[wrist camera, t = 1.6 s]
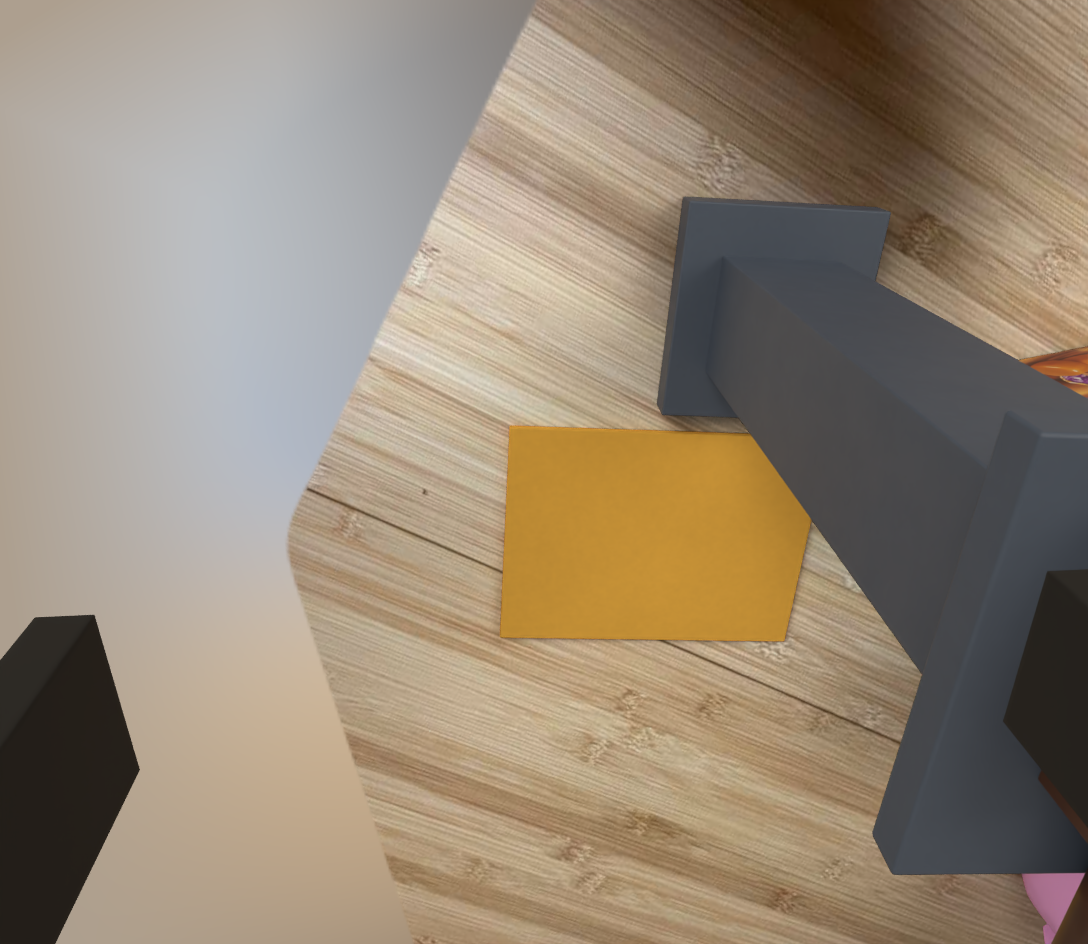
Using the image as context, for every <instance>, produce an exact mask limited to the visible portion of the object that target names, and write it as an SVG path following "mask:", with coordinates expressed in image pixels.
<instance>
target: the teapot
mask: <svg viewBox="0 0 1088 944" xmlns="http://www.w3.org/2000/svg"><path fill="white" fill-rule="evenodd" d="M1084 874H1085V873H1050V874H1022V878H1023V882H1024V886H1025V889H1026V892H1027V894H1028V896H1029V899H1030V900H1031V902H1032V903H1033V905H1034V906H1035V908H1036V909H1037V911H1038V912H1039V913H1040V915H1041V916H1042V917H1043V919H1044V920H1045V921H1046V923H1047V924H1046V925H1045V926H1043V931H1044V940H1045V944H1051V943H1052V941H1053V939H1054V937H1055V935H1056V933H1057V931H1058V928H1059V926H1060V924H1061V922H1062V920H1063V918H1064V916H1065V914H1066V912H1067V910H1068V908H1069V906H1070V904H1071V901H1072V899H1073V897H1074V895H1075V893H1076V891H1077V889H1078V887H1079V885H1080V883H1081V881H1082V879H1083V876H1084Z"/></svg>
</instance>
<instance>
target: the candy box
mask: <svg viewBox="0 0 1088 944" xmlns="http://www.w3.org/2000/svg"><path fill="white" fill-rule="evenodd" d="M1019 361H1021V362H1022V363H1024V364H1026V365H1028V366H1030V367H1031V368H1033V369H1035V370H1037V371H1039V372H1041V373H1042V374H1044V375H1046V376H1048V377H1050V378H1051V379H1053V380H1055V381H1057V382H1059V383H1061V384H1062V385H1064V386H1066V387H1068V388H1070V389H1071V390H1073V391H1075V392H1077V393H1079V394H1080V395H1082V396H1084V397H1086V398H1088V347H1083V348H1078V349H1072V350H1067V351H1062V352H1058V353H1052V354H1047V355H1042V356H1037V357H1032V358H1027V359H1022V360H1019Z"/></svg>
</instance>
